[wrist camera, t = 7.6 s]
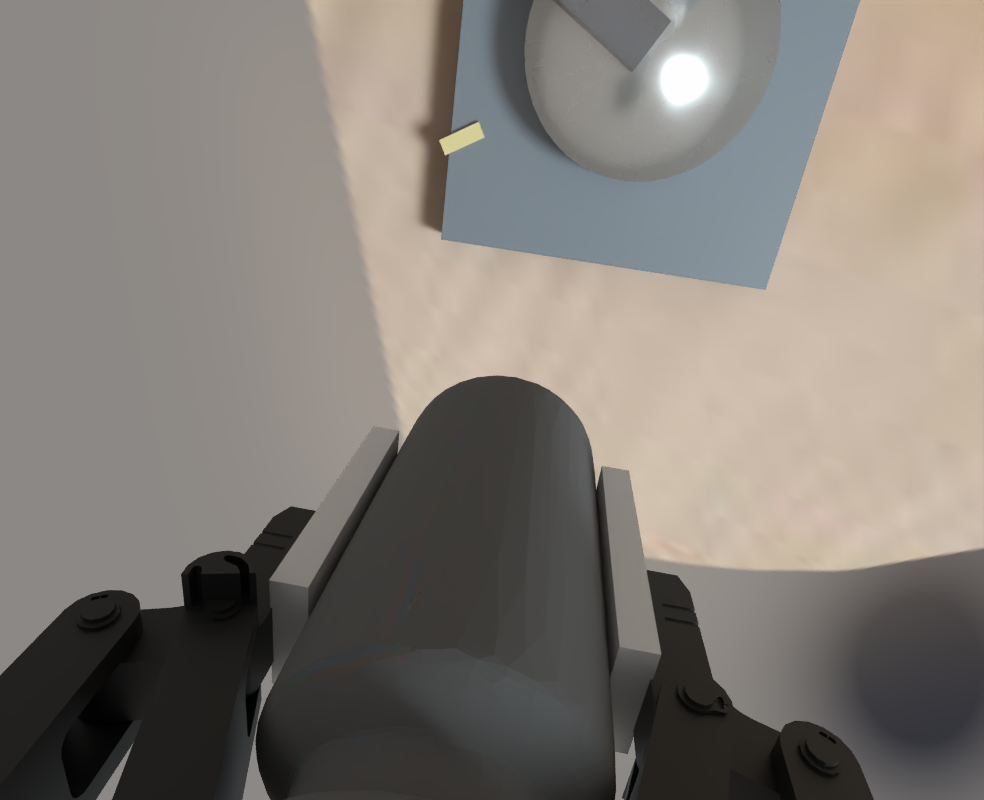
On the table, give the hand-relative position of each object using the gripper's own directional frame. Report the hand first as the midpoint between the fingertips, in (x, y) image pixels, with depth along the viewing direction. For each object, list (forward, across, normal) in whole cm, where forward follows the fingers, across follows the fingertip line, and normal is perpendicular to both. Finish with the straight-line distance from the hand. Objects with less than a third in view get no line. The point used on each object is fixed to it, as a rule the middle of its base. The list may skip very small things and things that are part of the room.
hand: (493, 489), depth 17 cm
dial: (+15, +2, +13) cm, 20 cm away
